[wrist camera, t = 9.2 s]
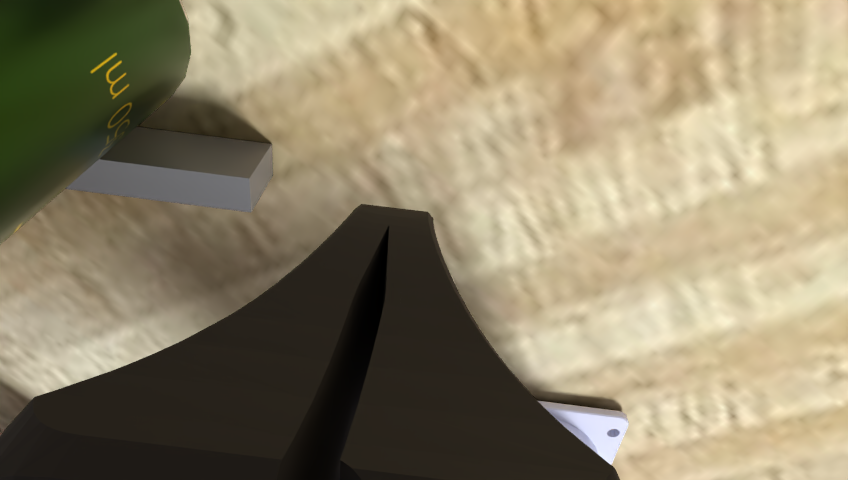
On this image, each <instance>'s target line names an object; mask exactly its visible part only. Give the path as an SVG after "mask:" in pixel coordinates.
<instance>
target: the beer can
mask: <svg viewBox="0 0 848 480" xmlns="http://www.w3.org/2000/svg"><path fill="white" fill-rule="evenodd" d="M190 55H191V45H190V34H189V24H188V16H187V14H186V11H185V9H184V6H183V4H182V1H181V0H0V245H1V244H2V243H3V242H4V241H5V240H6V239H8V238H9V237H10V236H11V235H12V234H13V233H14V232H16V231H17V230H18V229H19V228H20V227H21V226H23V225H24V224H25V223H26V222H27V221H28V220H29V219H31V218H32V217H33V216H34V215H35V214H36V213H38V212H39V211H40V210H41V209H42V208H43V207H44V206H46V205H47V204H48V203H49V202H50V201H51V200H53V199H54V198H55V197H56V196H57V195H58V194H59V193H61V192H62V191H63V190H64V189H65V188H66V187H68V186H69V185H70V184H71V183H72V182H73V181H74V180H76V179H77V178H78V177H79V176H80V175H81V174H83V173H84V172H85V171H86V170H87V169H88V168H89V167H91V166H92V165H93V164H94V163H95V162H96V161H97V160H99V159H100V158H101V157H102V156H103V155H104V154H106V153H107V152H108V151H109V150H110V149H111V148H112V147H114V146H115V145H116V144H117V143H118V142H119V141H121V140H122V139H123V138H124V137H125V136H126V135H127V134H129V133H130V132H131V131H132V130H133V129H134V128H136V127H137V126H138V125H139V124H140V123H141V122H142V121H144V120H145V119H146V118H147V117H148V116H149V115H151V114H152V113H153V112H154V111H155V110H156V109H157V108H159V107H160V106H161V105H162V104H163V103H164V102H166V101H167V100H168V99H169V98H170V97H171V96H172V95H173V94H174V92H175V91H176V89H177V88H178V87H179V85H180V84H181V82H182V81H183V79H184V78H185V76H186V72H187V67H188V63H189V59H190Z"/></svg>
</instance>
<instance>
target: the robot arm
mask: <svg viewBox="0 0 848 480" xmlns="http://www.w3.org/2000/svg"><path fill="white" fill-rule="evenodd" d="M628 424H629V422H628V419H627V416H626V414H625V413H623V412H620V411H615V410H607V409H599V408H592V407H584V406H576V405H568V404H560V403H552V402H544V401H537V400H536V399H535V398H534V397H533V396H532V394H531V393H530V392H529V391H528V390H527V389H526V388H525V387H524V385H523V384H522V383H521V382H520V381H519V380H518V379H517V378H516V376H515V375H514V374H513V373H512V372H511V371H510V370H509V369H508V367H507V366H506V365H505V363H504V362H503V361H502V359H501V358H500V357H499V356H498V354H497V353H496V352H495V350H494V349H493V348H492V346H491V345H490V343H489V342H488V340H487V339H486V337H485V336H484V335H483V333H482V332H481V330H480V329H479V327H478V325H477V324H476V322H475V321H474V319H473V317H472V316H471V314H470V312H469V311H468V309H467V307H466V305H465V303H464V301H463V300H462V298H461V296H460V294H459V292H458V290H457V288H456V286H455V284H454V282H453V280H452V277H451V275H450V273H449V270H448V268H447V266H446V263H445V261H444V259H443V256H442V253H441V250H440V247H439V244H438V241H437V238H436V234H435V230H434V224H433V218H432V217H431V215H430V214H429V213H428V212H423V211H414V210H406V209H398V208H390V207H381V206H373V205H365V204H361V205H360V206H358V207H357V208H356V209H355V210H354V211H353V212H352V213H351V214H350V215H349V216H348V218H347V219H346V220H345V221H344V222H343V223H342V224H341V225H340V226H339V227H338V228H337V229H336V230H335V232H334V233H333V234H332V235H331V236H330V237H329V238H328V239H327V240H326V241H325V242H323V243H322V244H321V245H320V246H319V247H318V248H317V249H316V250H315V251H314V252H313V253H312V254H311V255H310V256H309V257H308V258H306V259H305V260H304V261H303V262H302V263H301V264H300V265H298V266H297V267H296V268H295V269H293V270H292V271H291V272H290V273H289V274H287V275H286V276H285V277H284V278H282V279H281V280H280V281H279V282H278V283H276V284H275V285H274V286H272V287H271V288H270V289H268V290H267V291H266V292H264V293H263V294H262V295H260V296H259V297H257V298H256V299H254V300H253V301H251V302H250V303H248V304H247V305H245V306H244V307H242V308H241V309H239V310H238V311H236V312H235V313H233V314H231V315H229V316H228V317H226V318H224V319H222V320H220V321H218V322H217V323H215V324H213V325H211V326H209V327H207V328H205V329H204V330H202V331H200V332H198V333H196V334H194V335H193V336H191V337H189V338H187V339H185V340H183V341H181V342H179V343H176V344H174V345H172V346H170V347H168V348H166V349H163V350H161V351H159V352H157V353H155V354H152V355H150V356H147V357H145V358H143V359H140V360H138V361H136V362H133V363H131V364H128V365H126V366H123V367H121V368H118V369H116V370H113V371H110V372H108V373H105V374H102V375H99V376H96V377H93V378H90V379H87V380H84V381H82V382H79V383H76V384H73V385H70V386H67V387H64V388H61V389H58V390H55V391H53V392H49V393H46V394H43V395H40V396H36V397H34V398H33V399H32V401H31V402H30V403H29V404H28V405H27V406H26V407H25V408H24V409H23V410H22V412H21V413H20V414H19V415H18V416H17V417H16V418H15V419H14V420H13V421H12V423H11V424H10V425H9V426H8V427H7V428H6V430H5V431H4V432H3V433H2V435H1V436H0V480H620V479H619V476H618V474H617V472H616V470H615V468H614V467H613V466H612V465H611V464H612V462H613V460H614V457H615V455H616V453H617V451H618V448H619V446H620V444H621V441H622V439H623V437H624V434H625V432H626V430H627V428H628ZM611 429H614V430H611Z"/></svg>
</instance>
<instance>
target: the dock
mask: <svg viewBox="0 0 848 480" xmlns="http://www.w3.org/2000/svg"><path fill="white" fill-rule="evenodd" d="M272 176H273V161H272V144H268V143H260V142H253V141H245V140H237V139H229V138H221V137H213V136H205V135H198V134H190V133H182V132H174V131H166V130H158V129H150V128H143V127H136V128H134V129H133V130H132V131H131V132H130V133H129V134H127V135H126V136H125V137H124V138H123V139H122V140H121V141H119V142H118V143H117V144H116V145H115V146H114V147H112V148H111V149H110V150H109V151H108V152H107V153H106V154H104V155H103V156H102V157H101V158H100V159H99V160H97V161H96V162H95V163H94V164H93V165H92V166H91V167H89V168H88V169H87V170H86V171H85V172H84V173H83V174H81V175H80V176H79V177H78V178H77V179H76V180H74V181H73V182H72V183H71V184H70V185H69V186H68V187H66V188H65V189H71V190H78V191H86V192H94V193H102V194H110V195H118V196H126V197H134V198H141V199H149V200H157V201H165V202H173V203H181V204H189V205H196V206H204V207H212V208H220V209H228V210H236V211H244V212H252V210H253V209H254V207H255V205H256V204H257V202H258V200H259V198H260V197H261V195H262V193H263V192H264V190H265V188H266V187H267V185H268V183H269V181H270V180H271V178H272Z"/></svg>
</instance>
